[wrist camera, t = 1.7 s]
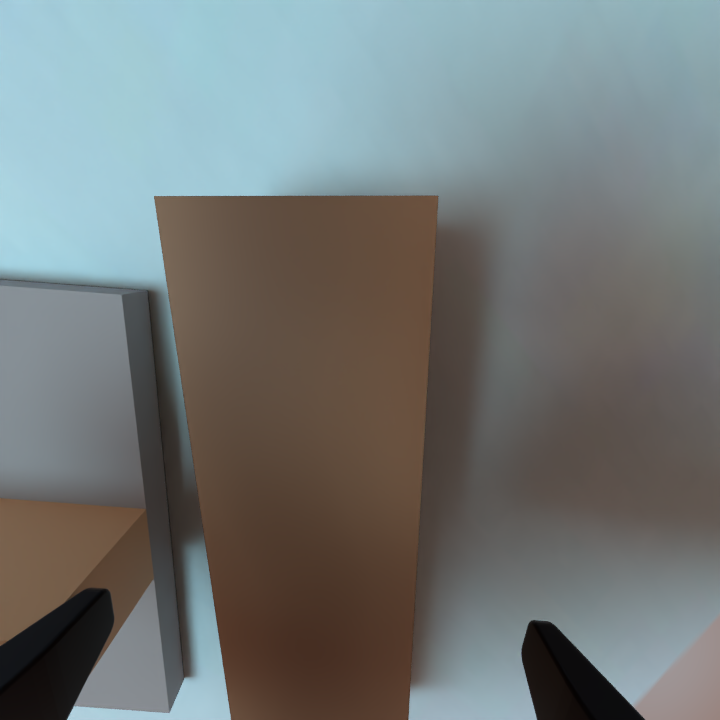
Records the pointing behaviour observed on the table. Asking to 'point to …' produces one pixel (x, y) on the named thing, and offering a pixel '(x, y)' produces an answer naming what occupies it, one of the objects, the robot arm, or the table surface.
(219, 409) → the batten
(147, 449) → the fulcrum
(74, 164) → the table surface
